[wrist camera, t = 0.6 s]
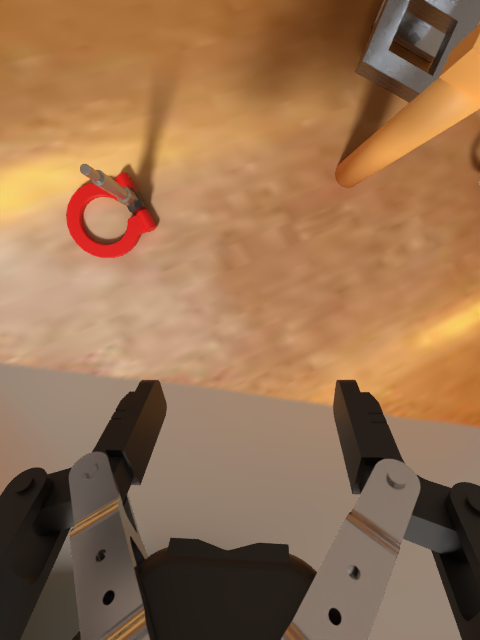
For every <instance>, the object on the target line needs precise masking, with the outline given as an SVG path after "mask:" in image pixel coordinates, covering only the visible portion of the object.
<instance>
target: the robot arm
mask: <svg viewBox="0 0 480 640" xmlns="http://www.w3.org/2000/svg"><path fill="white" fill-rule="evenodd" d="M166 410H167V406H166V400H165V398H164V394H163V391H162V388H161V384H160V382H159V381H158V380H142V381H141V382H140V383H139V385H138V387H137V389H136V391H135V392H129V393H128V394H127V395H126V396H125V397H124V398H123V399H122V400H121V401H120V403H119V405H118V407H117V408H116V412H114V414H113V416H112V417H111V420H110V421H109V423H108V425H107V426H106V428H105V430H104V432H103V434H102V436H101V437H100V439H99V441H98V443H97V445H96V447H95V448H94V450H93V451H92V453H89V454H86V455H85V456H83V457H82V458H80V459H79V460H78V461H77V462H76V463H75V464H74V465H73V467H72V468H69V469H65V470H62V471H59V472H55V473H52V474H47V473H46V472H45V470H44V469H42V468H31V469H28V470H26V471H24V472H22V473H20V474H19V475H18V476H16V477H15V478H14V479H13V480H12V481H11V482H10V483H9V484H8V485H7V487H6V488H5V490H4V491H3V493H2V494H1V496H0V640H20V639H21V637H22V634H23V632H24V630H25V628H26V626H27V623H28V621H29V619H30V617H31V614H32V612H33V610H34V608H35V605H36V603H37V601H38V599H39V597H40V594H41V592H42V590H43V588H44V586H45V583H46V581H47V579H48V577H49V574H50V572H51V570H52V568H53V566H54V563H55V561H56V559H57V557H58V554H59V552H60V550H61V548H62V545H63V543H64V541H65V539H66V537H67V534H68V532H69V530H70V528H71V527H73V526H74V529H72V530H71V532H70V545H71V554H72V563H73V570H74V571H73V572H74V581H75V589H76V599H77V607H78V617H79V625H80V631H79V632H78V633H77V634H76V636H75V637H74V638H73V639H72V640H368V637H369V634H370V631H371V629H372V626H373V623H374V621H375V618H376V615H377V612H378V609H379V607H380V604H381V601H382V598H383V596H384V593H385V590H386V587H387V584H388V581H389V579H390V576H391V573H392V570H393V568H394V565H395V562H396V559H397V556H398V554H399V550H400V545H401V542H402V539H406V540H409V541H411V542H413V543H416V544H418V545H421V546H423V547H426V548H428V549H431V551H432V554H433V556H434V559H435V562H436V565H437V568H438V571H439V574H440V577H441V580H442V583H443V586H444V589H445V591H446V594H447V597H448V600H449V603H450V606H451V609H452V612H453V615H454V617H455V620H456V623H457V626H458V629H459V632H460V635H461V638H462V640H480V486H478V485H475V484H472V483H467V482H461V483H457V484H455V485H454V486H453V487H452V488H449V487H446V486H443V485H440V484H437V483H434V482H431V481H428V480H425V479H423V478H421V477H419V476H418V475H416V474H415V472H414V471H413V470H412V469H411V468H410V467H409V466H407V465H406V464H405V463H404V461H403V459H402V457H401V455H400V453H399V450H398V448H397V445H396V443H395V441H394V438H393V436H392V434H391V431H390V429H389V426H388V424H387V421H386V419H385V417H384V415H383V412H382V409H381V407H380V405H379V402H378V401H377V400H376V399H375V398H374V397H373V396H372V395H371V394H370V393H369V392H360V390H359V387H358V385H357V382H356V381H355V380H337V381H336V388H335V396H334V404H333V411H334V418H335V423H336V427H337V431H338V435H339V439H340V444H341V448H342V452H343V456H344V460H345V465H346V469H347V473H348V477H349V481H350V486H351V490H352V494H360V496H359V498H358V500H357V502H356V504H355V506H354V508H353V510H352V512H350V513H349V514H348V515H347V517H346V519H345V521H344V522H343V524H342V526H341V528H340V530H339V532H338V534H337V536H336V538H335V540H334V542H333V544H332V545H331V547H330V549H329V551H328V553H327V555H326V557H325V559H324V561H323V563H322V565H321V567H320V568H319V571H318V572H316V571H315V570H314V569H313V568H312V567H311V566H310V565H308V564H307V563H306V562H305V561H303V560H301V559H300V558H298V557H296V556H294V555H291V554H289V547H288V545H287V544H270V543H256V544H252V545H248V546H244V547H240V548H237V549H233V550H224V549H221V548H218V547H216V546H214V545H211V544H209V543H206V542H203V541H201V540H199V539H182V538H171V539H170V542H169V546H168V547H167V548H164V549H162V550H159V551H157V552H155V553H154V554H152V555H150V556H149V557H148V554H147V552H146V549H145V546H144V544H143V542H142V539H141V536H140V533H139V530H138V526H137V523H136V520H135V516H134V513H133V509H132V506H131V503H130V500H129V497H128V494H127V493H128V490H129V488H130V486H131V485H141V482H142V479H143V476H144V474H145V471H146V468H147V465H148V463H149V460H150V457H151V454H152V452H153V449H154V446H155V443H156V441H157V438H158V435H159V432H160V429H161V427H162V424H163V421H164V418H165V416H166Z"/></svg>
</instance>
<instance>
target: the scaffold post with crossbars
mask: <svg viewBox="0 0 480 640" xmlns="http://www.w3.org/2000/svg"><path fill="white" fill-rule="evenodd" d="M479 20H480V0H383V1H382V4H381V6H380V8H379V11H378V13H377V15H376V18H375V20H374V22H373V25H372V27H371V28H372V29H373V30H372V33H371V35H370V37H369V40H368V42H367V44H366V47H365V49H364V51H363V54H362V56H361V58H360V61H359V63H358V66H357V68H356V70H355V72H356V73H357V74H359V75H361V76H363V77H365V78H366V79H368V80H370V81H372V82H374V83H375V84H377V85H379V86H381V87H382V88H384V89H386V90H388V91H390V92H391V93H393V94H395V95H397V96H399V97H400V98H402V99H404V100H406V101H407V102H409V103H410V102H411V101H412V100H413V99H415V98H416V97H417V96H418V95H419V94H420V93H422V92H423V91H424V90H425V89H426V88H427V87H428V86H430V85H431V84H432V83H433V82H434V81H435V80H436V79H438V78H439V76H440V74H441V72H442V70H443V67H444V65H445V63H446V61H447V59H448V57H449V54H450V52H451V50H452V49H454V48H455V47H456V46H457V45H458V44H459V43H460V42H461V41H462V40H463V39H464V38H465V37H466V36H467V35H469V34H470V33H471V32H472V31H473V30H474V29H475V28H476V26H477V24H478V22H479ZM444 36H445V37H444ZM392 41H394V42H396V43H398V44H399V45H401V46H403V47H404V48H406V49H408V50H409V51H411V52H413V53H415V54H416V55H418V56H420V57H421V58H423V59H425V60H426V61H428V62H431V61H432V60H433V59H434V61H433V63H432V65H431V67H430V69H429V72H428V73H426V72H425V71H423V70H421V69H420V68H418V67H416V66H414V65H413V64H411V63H409V62H408V61H406V60H404V59H402V58H401V57H399V56H397V55H396V54H394V53H392V52H390V51H389V47H390V45H391V43H392Z"/></svg>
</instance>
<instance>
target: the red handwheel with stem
mask: <svg viewBox="0 0 480 640" xmlns="http://www.w3.org/2000/svg"><path fill="white" fill-rule="evenodd" d="M80 171H81V173H82V174H84V175H85V176H87V177H88V178H90V179H91V181H92V183H89V184H86V185H84V186H83V187H81V188H79V189H78V190H77V191H76V192H75V194H74V195H73V196H72V197H71V200H70V202H69V204H68V208H67V214H66V217H67V226H68V228H69V231H70V234H71V236H72V237H73V239H74V240H75V242H76V243H77V244H78V245H79V246H80V247H81V248H82V249H83V250H84V251H86V252H88V253H90V254H92V255H94V256H98V257H101V258H115V257H119V256H122V255H124V254H126V253H127V252H129V251H131V249H132V248H133V247H134V246H135V245H136V244H137V242H138V240H139V238H140V236H141V234H143V233H145V232H150V231H152V230H154V229H155V228H156V227H157V226H156V225H155V223H154V221H153V219H152V217H151V216H150V214H149V212H148V210H147V207H146V205H145V203H144V201H143V199H142V197H141V196H140V194H139V192H138V191H137V190H136V188H135V186H134V185H133V183H132V181H131V179H130V177H129V175H128V174H127V173H121V174H119V175H118V176H117V177H116V179H117V180H115V181H114V180H113V179H111V178H110V177H109V176H107V175H106V174H104V173H103V172H102V171H100V170H94V169H93V168H92V167H90V166H89V165H87V164H82V165H81V167H80ZM98 197H110V198H113V199H115V200H117V201H119V202H121V203H122V204H124V205H126V206H127V207H128V209H129V211H130V212H132V213H133V214H135V216H133V217H131V218H129V219H128V226H127V231H126V233H125V235H124V236H123V237H122V238H121V239H120V240H119V241H118V242H116V243H114V244H110V245H103V244H99V243H97V242H95V241H94V240H92V239H91V238H90V237H89V236H88V234H87V233H86V231H85V229H84V226H83V220H82V217H83V211H84V209H85V207H86V206H87V204H88V203H89V202H90V201H92V200H93V199H95V198H98Z"/></svg>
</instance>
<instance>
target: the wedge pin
mask: <svg viewBox="0 0 480 640" xmlns="http://www.w3.org/2000/svg"><path fill="white" fill-rule="evenodd" d="M478 109H480V24H479V25H478V26H477V27H476V28H475V29H474V30H473V31H472V32H471V33H470V34H469V35H467V36H466V37H465V38H464V39H463V40H462V41H461V42H460V43H459V44H458V45H457V46H456V47H455V48H454V49H452V50H451V52H450V54H449V57H448V59H447V61H446V63H445V65H444V67H443V70H442V72H441V74H440V76H439V78H438V79H436V80H435V81H434V82H433V83H432V84H431V85H430V86H428V87H427V88H426V89H425V90H424V91H423V92H422V93H420V94H419V95H418V96H417V97H416V98H415V99H413V100H412V101H411V102H410V103H409V104H408V105H407V106H405V107H404V108H403V109H402V110H401V111H400V112H398V113H397V114H396V115H395V116H394V117H393V118H392V119H390V120H389V121H388V122H387V123H386V124H385V125H383V126H382V127H381V128H380V129H379V130H378V131H377V132H375V133H374V134H373V135H372V136H371V137H370V138H368V139H367V140H366V141H365V142H364V143H363V144H362V145H360V146H359V147H358V148H357V149H356V150H355V151H353V152H352V153H351V154H350V155H349V156H348V157H347V158H345V159H344V160H343V161H342V162H341V163H340V164H339V165H338V166H337V169H336V173H335V175H336V180H337V182H338V183H339V184H340V185H341V186H343V187H346V188H350V187H353V186H355V185H356V184H358V183H359V182H361V181H363V180H364V179H366V178H368V177H369V176H371V175H372V174H374V173H376V172H377V171H379V170H381V169H382V168H384V167H386V166H387V165H389V164H390V163H392V162H394V161H395V160H397V159H399V158H400V157H402V156H403V155H405V154H407V153H408V152H410V151H412V150H413V149H415V148H416V147H418V146H420V145H421V144H423V143H425V142H426V141H428V140H429V139H431V138H433V137H434V136H436V135H438V134H439V133H441V132H443V131H444V130H446V129H447V128H449V127H451V126H452V125H454V124H456V123H457V122H459V121H460V120H462V119H464V118H465V117H467V116H469V115H470V114H472V113H473V112H475V111H477V110H478Z"/></svg>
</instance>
